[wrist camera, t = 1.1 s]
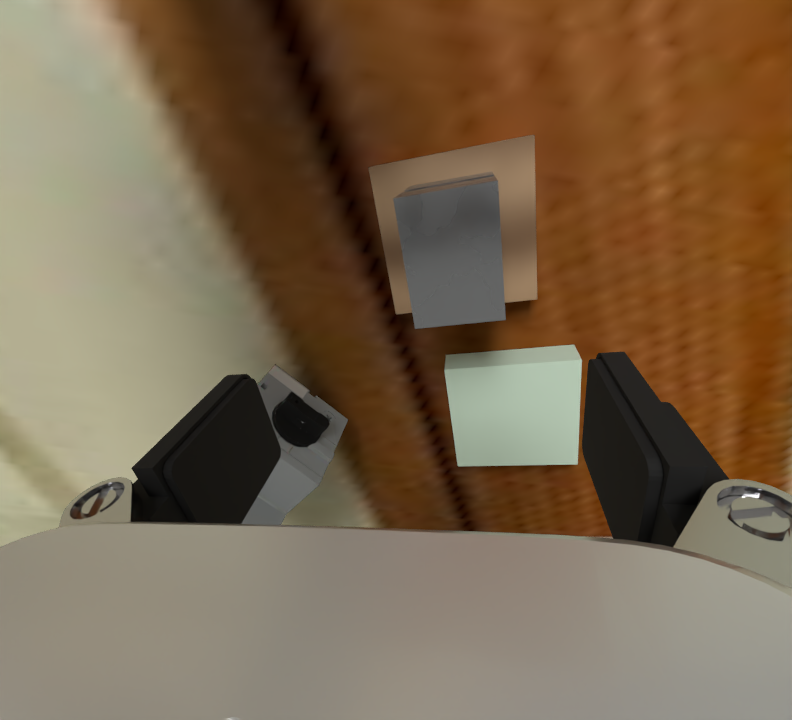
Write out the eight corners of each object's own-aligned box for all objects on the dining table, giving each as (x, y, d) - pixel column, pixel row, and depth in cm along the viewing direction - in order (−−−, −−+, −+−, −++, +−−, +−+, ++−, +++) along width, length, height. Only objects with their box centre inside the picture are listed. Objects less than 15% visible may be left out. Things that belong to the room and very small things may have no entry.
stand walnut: (376, 165, 27) (368, 167, 25) (528, 135, 25) (534, 134, 23) (401, 302, 32) (396, 314, 30) (532, 287, 29) (537, 299, 27)
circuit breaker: (370, 383, 36) (313, 519, 23) (289, 462, 43) (210, 603, 30) (303, 330, 34) (202, 444, 21) (231, 421, 41) (120, 550, 28)
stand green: (446, 354, 33) (444, 369, 31) (573, 344, 31) (581, 359, 29) (458, 447, 38) (457, 466, 36) (571, 444, 35) (577, 464, 33)
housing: (410, 185, 25) (393, 198, 19) (491, 171, 24) (497, 180, 18) (426, 291, 28) (414, 328, 23) (498, 282, 27) (505, 320, 21)
